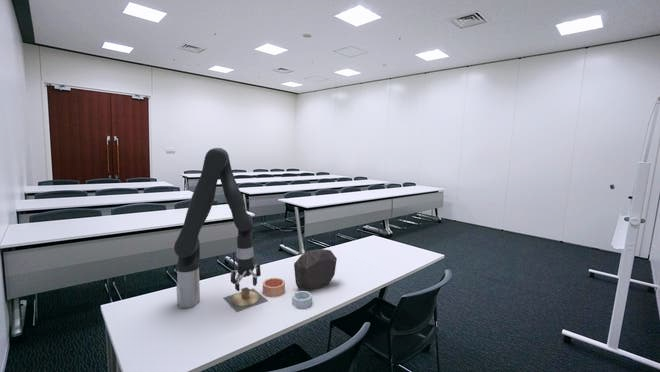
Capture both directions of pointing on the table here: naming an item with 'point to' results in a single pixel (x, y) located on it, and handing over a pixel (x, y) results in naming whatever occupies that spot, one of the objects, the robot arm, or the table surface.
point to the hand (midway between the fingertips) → (246, 287)
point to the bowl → (273, 287)
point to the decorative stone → (315, 269)
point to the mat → (240, 308)
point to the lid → (245, 298)
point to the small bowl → (302, 299)
